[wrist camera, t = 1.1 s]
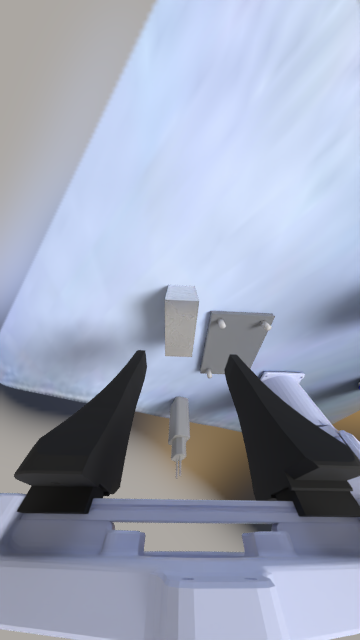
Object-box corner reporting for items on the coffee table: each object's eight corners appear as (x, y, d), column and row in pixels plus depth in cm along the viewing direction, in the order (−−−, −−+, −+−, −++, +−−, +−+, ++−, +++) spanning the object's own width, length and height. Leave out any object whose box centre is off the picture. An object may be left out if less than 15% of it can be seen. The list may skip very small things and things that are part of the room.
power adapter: (169, 407, 34) (164, 480, 24) (176, 396, 31) (174, 472, 21) (181, 409, 35) (181, 481, 24) (189, 398, 32) (193, 474, 22)
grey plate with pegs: (245, 371, 27) (250, 382, 25) (199, 369, 27) (201, 380, 25) (271, 313, 20) (281, 322, 18) (211, 310, 20) (214, 318, 18)
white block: (189, 333, 22) (191, 357, 18) (168, 333, 22) (165, 355, 18) (194, 285, 18) (199, 301, 14) (168, 284, 18) (164, 299, 14)
